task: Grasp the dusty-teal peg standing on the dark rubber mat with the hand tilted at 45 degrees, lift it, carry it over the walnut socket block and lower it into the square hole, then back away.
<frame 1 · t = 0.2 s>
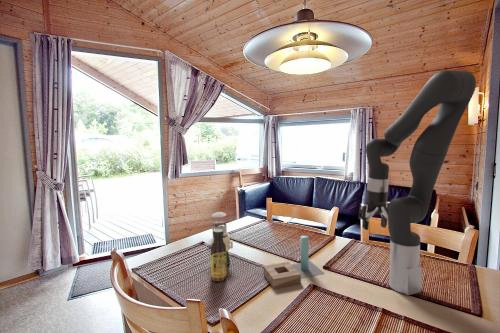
hand: (374, 228, 110), 18 cm above the table, tool pointing down, fingers open, 8 cm apart
mat: (304, 270, 114), on the table
french press: (218, 239, 152), on the table
character mug: (223, 264, 122), on the table
sauce bottle: (219, 279, 109), on the table
socket block: (281, 279, 107), on the table
peg: (304, 269, 114), resting on mat
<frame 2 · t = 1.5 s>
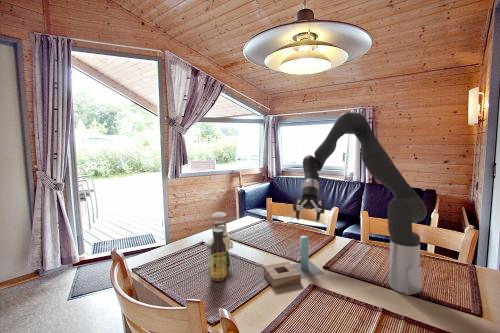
hand: (307, 220, 123), 18 cm above the table, tool tilted 45°, fingers open, 8 cm apart
nothing on the table moved.
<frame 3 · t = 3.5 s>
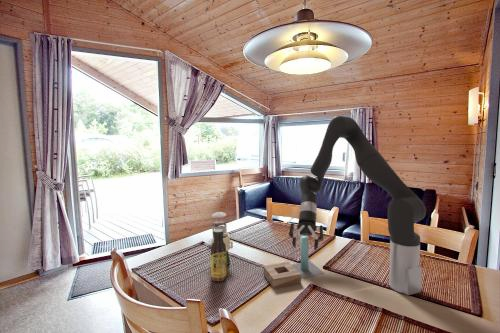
hand: (304, 248, 114), 9 cm above the table, tool tilted 45°, fingers open, 8 cm apart
nothing on the table moved.
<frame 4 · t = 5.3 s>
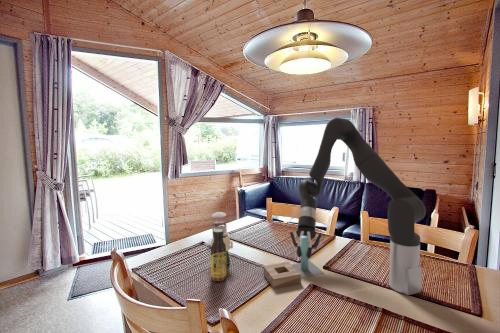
hand: (303, 256, 111), 7 cm above the table, tool tilted 45°, fingers closed on peg, 3 cm apart
peg: (304, 269, 114), resting on mat, touching gripper
everything else where it was.
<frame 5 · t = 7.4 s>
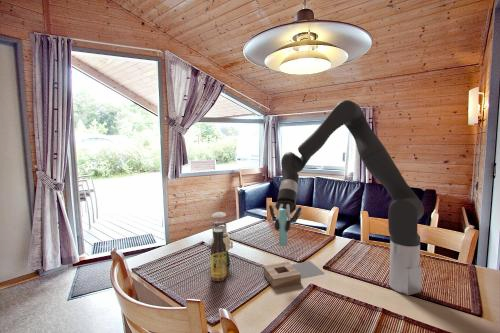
hand: (281, 230, 104), 20 cm above the table, tool tilted 45°, fingers closed on peg, 3 cm apart
peg: (283, 244, 107), point 14 cm above the table, touching gripper
everything else where it was.
when the fingers open (8 cm above the table, at t = 9.6 s): peg drops 2 cm, resting in socket block.
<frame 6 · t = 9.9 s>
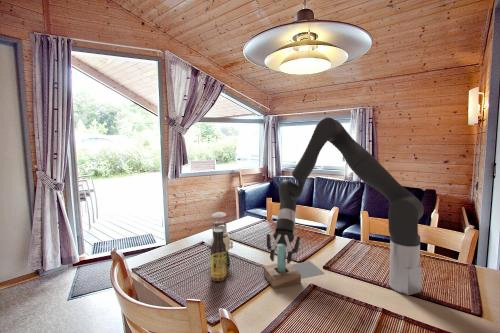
hand: (280, 261, 104), 8 cm above the table, tool tilted 45°, fingers open, 5 cm apart
peg: (281, 279, 107), resting in socket block
everything else where it was.
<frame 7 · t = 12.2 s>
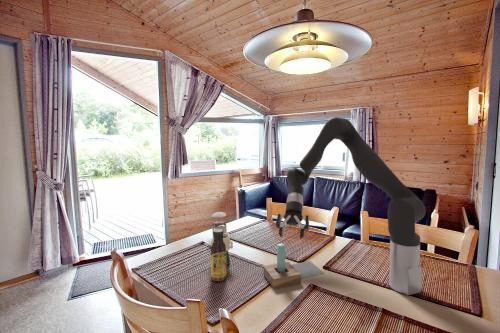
hand: (291, 237, 116), 13 cm above the table, tool tilted 45°, fingers open, 8 cm apart
nothing on the table moved.
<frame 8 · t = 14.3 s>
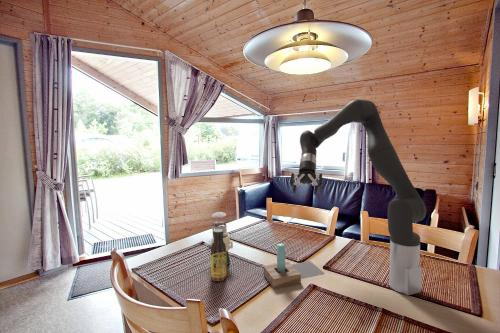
hand: (304, 194, 118), 31 cm above the table, tool tilted 45°, fingers open, 8 cm apart
nothing on the table moved.
at the end: peg 0.1 cm off-centre on the socket block, point 0.0 cm above the socket block's base; peg tilted 0°; the gripper is holding nothing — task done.
